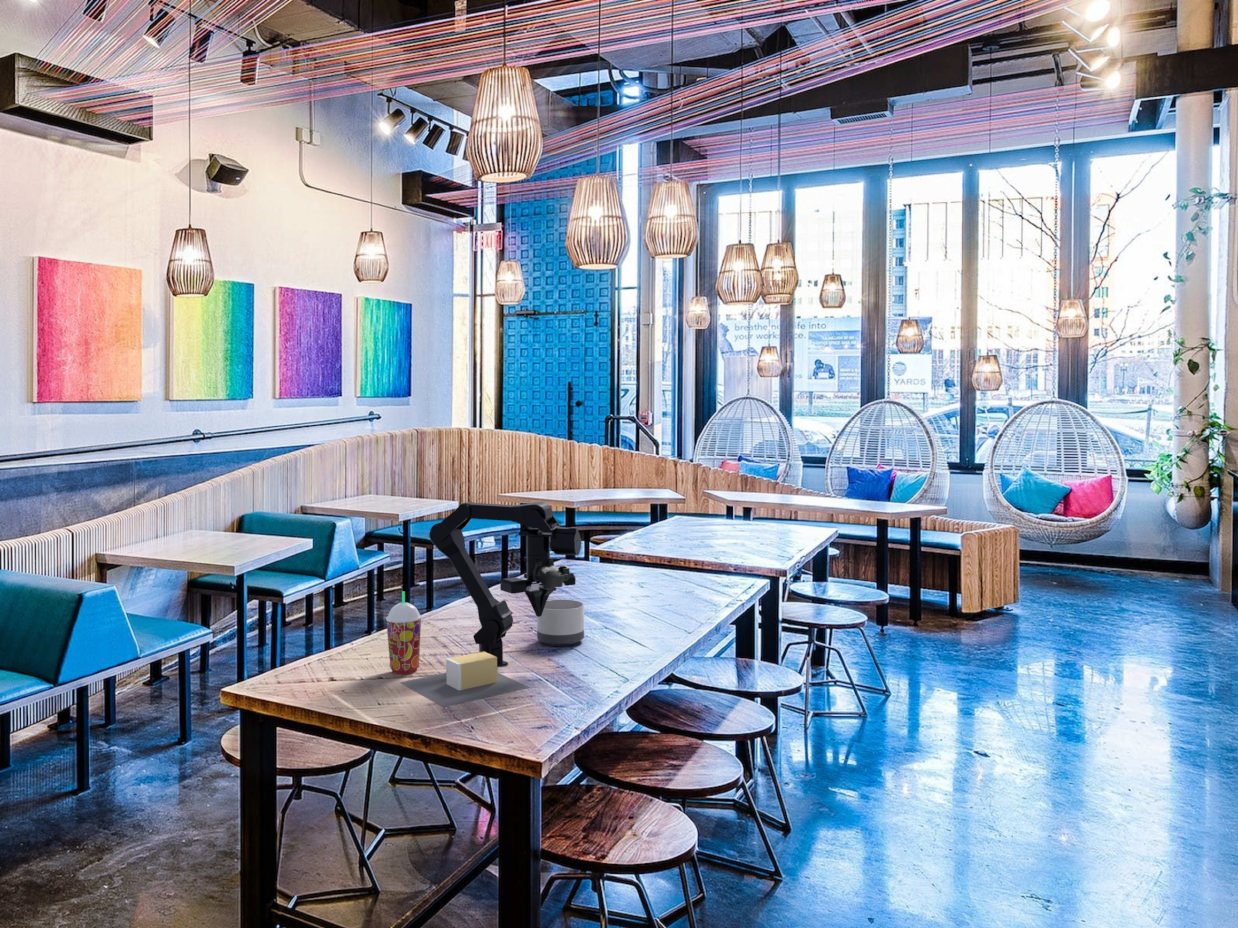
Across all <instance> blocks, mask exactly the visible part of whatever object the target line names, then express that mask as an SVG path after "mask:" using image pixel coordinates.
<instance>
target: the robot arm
mask: <svg viewBox="0 0 1238 928" xmlns="http://www.w3.org/2000/svg"><path fill="white" fill-rule="evenodd" d="M472 519H473V520H485V521H486V520H488V521H489V520H490V521H503V522H504V521H505V522H512V523H515V524H519V525H520V526H523V528H522V529H521V530H520V531H519V532H518V533H517V535H518V536H525V537H526V556H523V562H526V573H523V577H524V579H522V578H518V577H515V576H513V577H508V578H507V577H506V578H502V579H501V582H500V584H499V585H500V591H502V592H505V593H508V594H512V595H513V594H514V595H515V594H520V593H522V594H523V593H525V595H526V598H527V599H528V601H529V603H530V606H531V607H532V609H533V612H534V614H535V615H536V617H537V616H538V617H540V616H542V613H543V610H544V607H545V604H546V601H548V600H549V597H550V595H551V594H552V593H553V592H554V591H557V588H563V585H564V586H567V587H568V586H574V585H576V584H577V582H576V575H575V574H574V573H573V572H571V571H570V567H569V566H568V565H560V566H555V564H554V558H553V557H551V552H552V553H554V555H559V556H560V555H561V556H563V555H564V556H579V555H580V554H581V548H582V538H581V535H580V532H579V527H577V526H571V527H564V526H563V527H562V526H561V524H560V523H559V522H558V521H557V519H556V517H555V516H554V514H553V510H552V508H551V506H550V505H549V504H548V503H547V502H545V501H538V502H529V503H523V504H500V503H499V504H498V503H485V502H483V503H482V502H473V501H466V502H463V503H461V504H459V506H458V507H456V509H454V510H453V511H452V512H451V513H450V514H449V515H448V516H446V517H445V518H444V519H443V520H442V521H440V522H437V523H434V524H433V525H432V526H431V528H430V530H429V531H430V532H429V534H428V535H429V539H430V541H431V543H432V544H433V545H434V546H435V548H437V550H438V551H439V552H440V553H441V554H443V555H444V556H446V557H447V559H449V560H450V563H451V565H452V566H453V568H454V569H455V571H456V573H457V575H458V576H459V578H460V580H461V582H462V583H463V584H464V587H465V588H466V590H467V591H468V593H469V595H470V597H471V598H472V601H473V602H474V603H475V606H476V608H477V613H478V619H479V620H478V621H479V623H480V626H481V628H479V630H477V632H475V634H473V636H472V637H473V640H474V643H475V644H476V645H478V653H479V652H486V653H489V654H491V655H493V656H496V657H497V667H502V666H508V664H509V662H508V661H506V660H504V648H503V638H505V637H506V635H507V633H508V631H509V630H510V629H511V628H512V627H513V624H514V618H513V614H514V612H513V611H512V610H511V609H510V608H509V605H508V603H507V601H506V600H505V599H503V600H501V601H499V600H497V599H496V598H495V596H494V595H493V593H492V592H491V591H490V588H489V587H488V585H487V584H486V582H485V580H484V578H483V577H482V575H481V573H480V572H479V570H478V568H477V567H476V565H475V562H474V561H473V560H472V557H471V556H470V554H469V553H468V551H467V548H466V543H465V536H464V534H463V531H462V530H463V529H465V528H466V527H467V525H469V523H470V521H471V520H472Z"/></svg>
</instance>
